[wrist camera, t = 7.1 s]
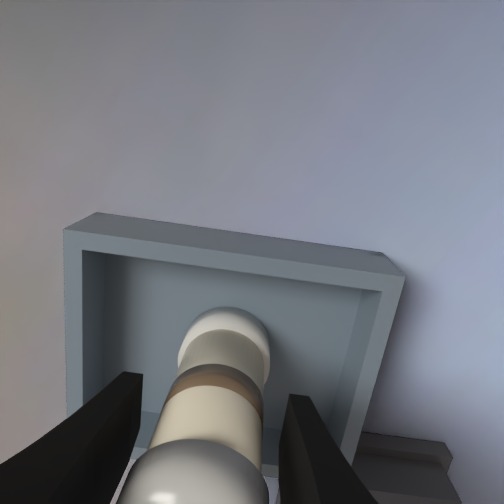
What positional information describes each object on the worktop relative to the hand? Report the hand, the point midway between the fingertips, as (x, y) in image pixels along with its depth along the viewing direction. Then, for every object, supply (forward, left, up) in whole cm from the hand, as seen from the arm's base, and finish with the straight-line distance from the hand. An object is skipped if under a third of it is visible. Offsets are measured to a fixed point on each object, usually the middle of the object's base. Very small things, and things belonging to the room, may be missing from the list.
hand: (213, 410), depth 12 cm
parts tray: (0, 0, -4) cm, 4 cm away
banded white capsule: (0, 0, -4) cm, 4 cm away
